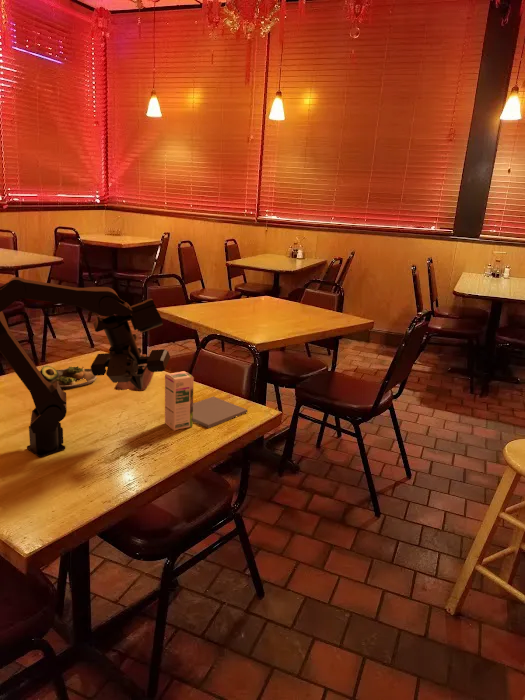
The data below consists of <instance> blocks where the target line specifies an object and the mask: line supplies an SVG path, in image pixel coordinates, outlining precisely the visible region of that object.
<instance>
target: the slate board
mask: <svg viewBox="0 0 525 700" xmlns="http://www.w3.org/2000/svg"><path fill="white" fill-rule="evenodd" d="M246 412H247V413H248V409H247V408H244V407H242V406H239V405H236V404H234V403H231V402H229V401H226V400H223V399H221V398H218V397H216V396H215V395H214V396H211V397H207V398H204V399H202V400H199V401H196V402H193V423H196V424H198V425H200V426H202V427H205V428H206V429H209V428H213V427H216V426H217V425H220V424H222V423H225V421H226V422H227V421H230V419H231V420H233V419H235V418H234V417H236V416H238V417H240V416H239V415H241V414H243V415H245V414H244V413H246ZM247 413H246V414H247ZM241 416H242V415H241ZM232 418H233V419H232ZM236 418H237V417H236Z"/></svg>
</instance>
